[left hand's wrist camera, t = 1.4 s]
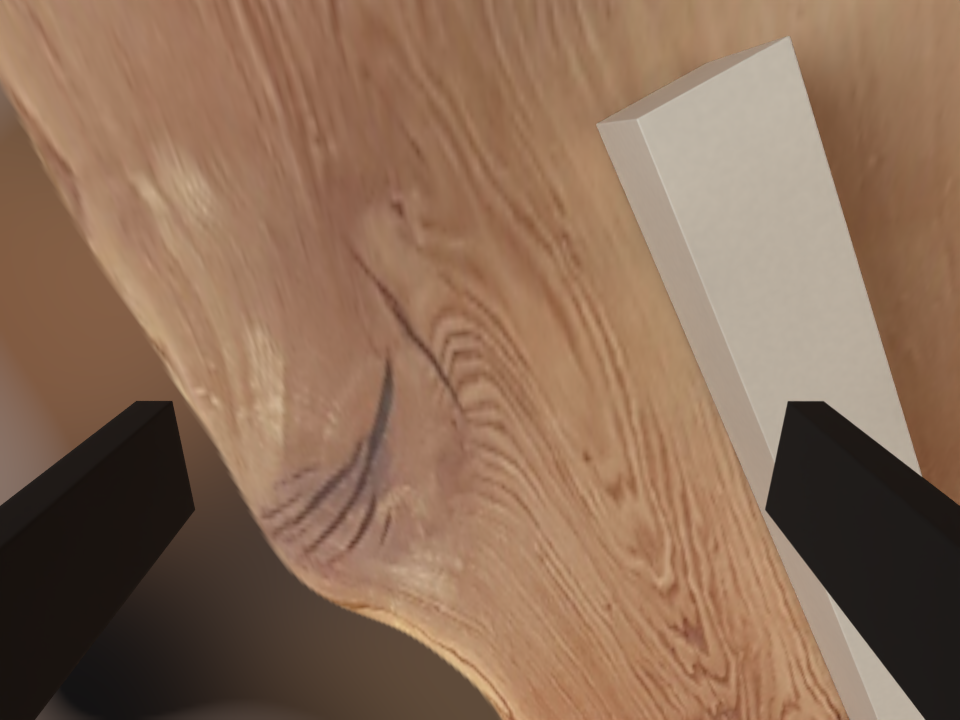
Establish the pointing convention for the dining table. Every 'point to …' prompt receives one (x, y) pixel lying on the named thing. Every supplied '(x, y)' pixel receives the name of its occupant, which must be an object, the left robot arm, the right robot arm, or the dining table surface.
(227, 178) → the dining table surface
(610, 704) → the dining table surface
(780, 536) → the beam
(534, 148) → the dining table surface
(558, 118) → the dining table surface
